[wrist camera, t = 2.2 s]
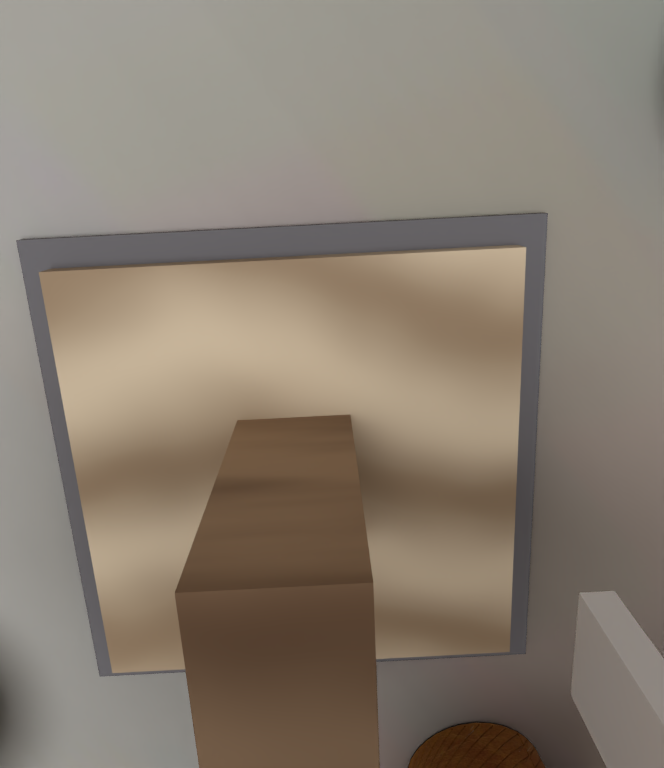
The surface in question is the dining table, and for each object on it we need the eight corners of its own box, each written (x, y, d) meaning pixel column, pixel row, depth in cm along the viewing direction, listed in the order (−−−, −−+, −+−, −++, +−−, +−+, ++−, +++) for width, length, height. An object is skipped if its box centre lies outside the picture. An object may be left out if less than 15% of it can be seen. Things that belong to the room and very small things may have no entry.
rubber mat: (522, 647, 27) (525, 653, 27) (103, 669, 27) (99, 676, 26) (543, 212, 22) (547, 213, 21) (21, 239, 22) (16, 240, 21)
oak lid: (502, 635, 26) (624, 931, 16) (120, 655, 26) (-15, 966, 16) (517, 244, 22) (705, 294, 11) (51, 268, 21) (-208, 341, 11)
